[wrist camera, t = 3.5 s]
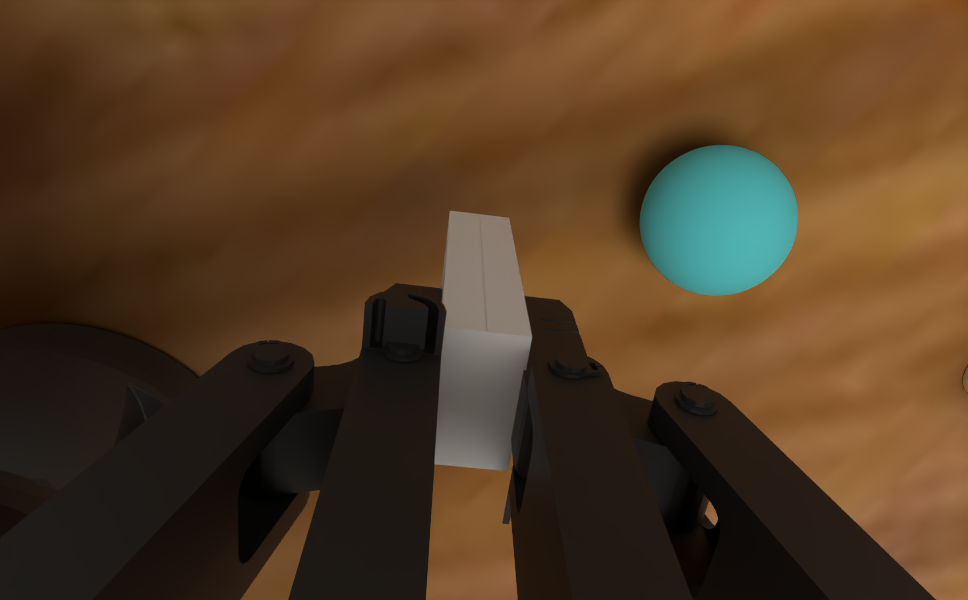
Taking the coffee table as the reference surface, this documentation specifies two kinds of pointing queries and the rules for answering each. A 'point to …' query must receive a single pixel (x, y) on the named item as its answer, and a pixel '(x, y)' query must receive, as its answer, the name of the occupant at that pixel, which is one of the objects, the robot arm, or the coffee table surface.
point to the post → (965, 380)
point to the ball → (718, 220)
